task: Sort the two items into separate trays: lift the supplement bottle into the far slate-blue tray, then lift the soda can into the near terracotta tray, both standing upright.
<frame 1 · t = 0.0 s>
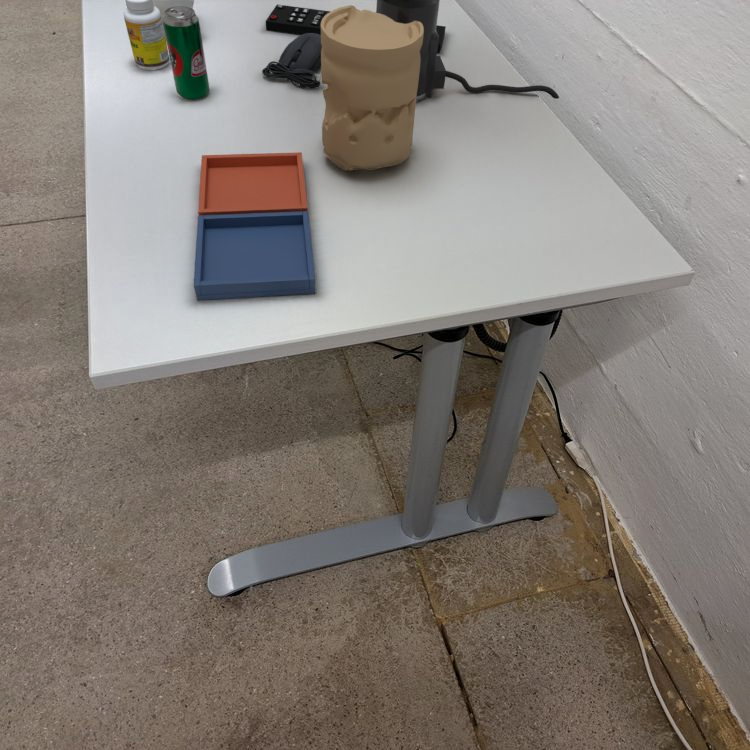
soda can: (193, 94, 100), on the table
figurine: (170, 32, 113), on the table
blue tray: (256, 260, 77), on the table
terracotta tray: (254, 195, 85), on the table
remote control: (355, 33, 116), on the table
container: (366, 158, 92), on the table
supplement bottle: (153, 64, 105), on the table
computer mouse: (306, 67, 108), on the table
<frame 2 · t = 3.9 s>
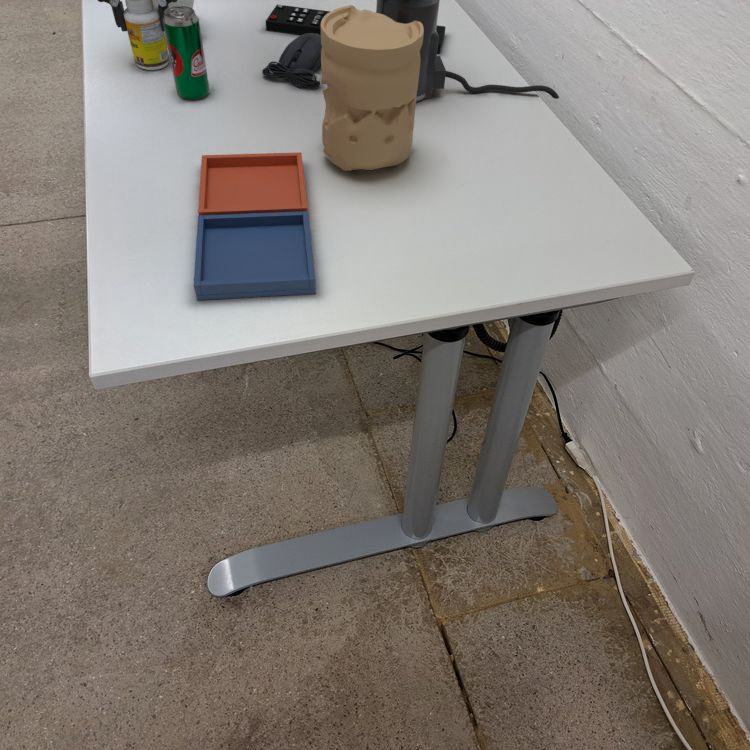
hand: (145, 28, 101), 6 cm above the table, tool pointing down, fingers closed on supplement bottle, 5 cm apart
supplement bottle: (153, 64, 105), on the table, touching gripper
everything else where it was.
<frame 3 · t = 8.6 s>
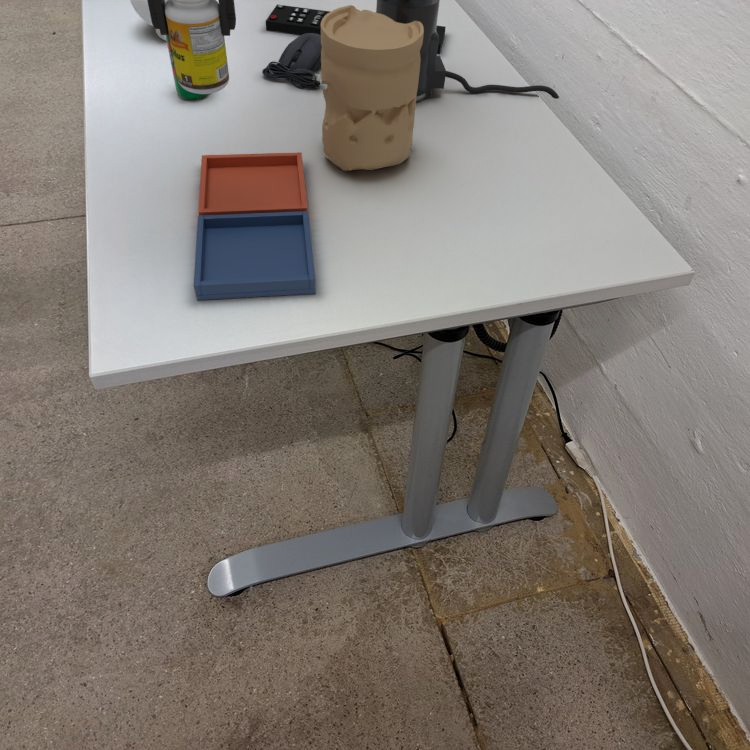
hand: (196, 31, 66), 22 cm above the table, tool pointing down, fingers closed on supplement bottle, 5 cm apart
supplement bottle: (204, 85, 70), point 16 cm above the table, touching gripper
everything else where it was.
when the fingers open (6 cm above the table, at t = 13.4 s): supplement bottle stays where it is, resting on blue tray.
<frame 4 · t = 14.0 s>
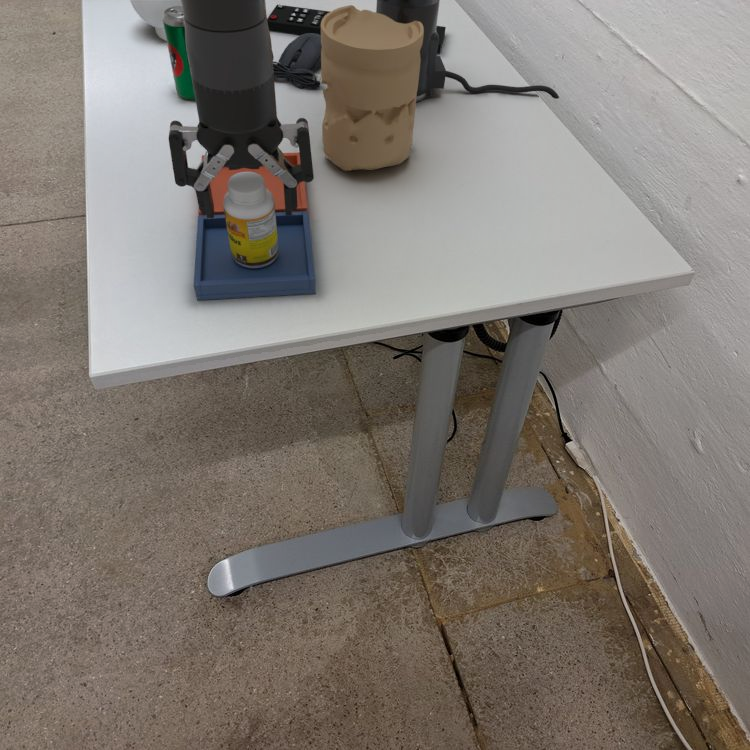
hand: (250, 212, 71), 7 cm above the table, tool pointing down, fingers open, 8 cm apart
supplement bottle: (255, 256, 76), point 1 cm above the table, touching blue tray
everything else where it was.
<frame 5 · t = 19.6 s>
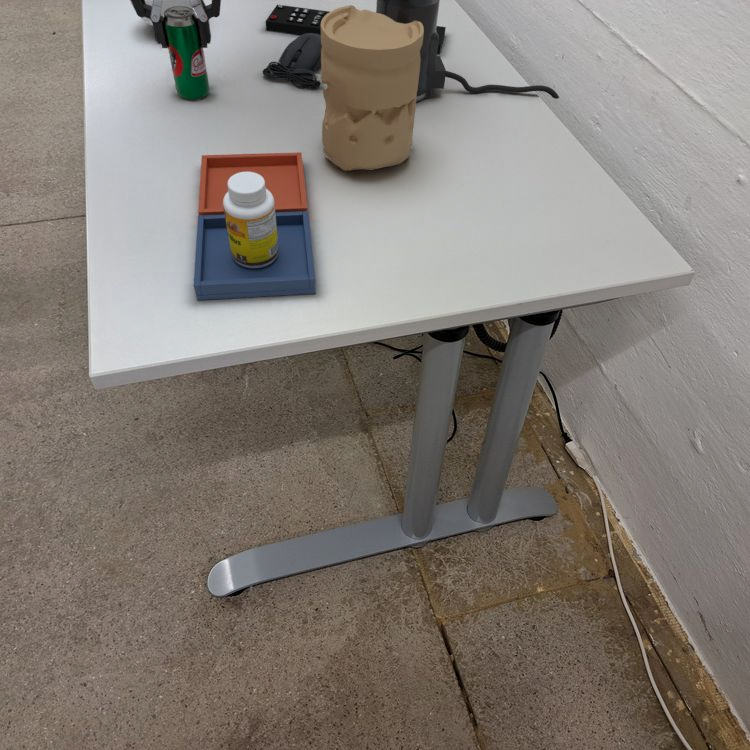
hand: (185, 45, 94), 7 cm above the table, tool pointing down, fingers closed on soda can, 5 cm apart
soda can: (194, 94, 100), on the table, touching gripper
everything else where it was.
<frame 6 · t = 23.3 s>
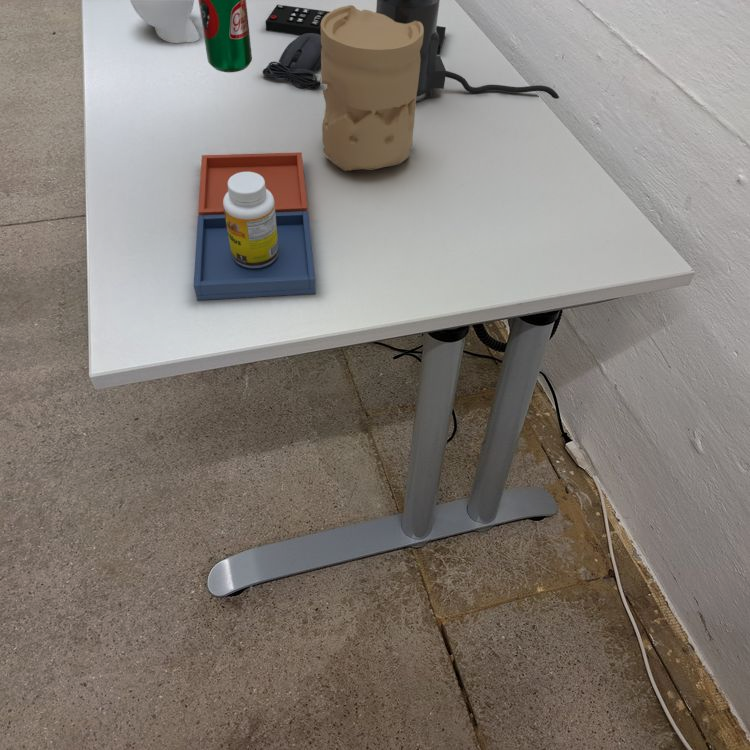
soda can: (230, 65, 74), point 16 cm above the table, touching gripper
everything else where it was.
when the fingers open (8 cm above the table, at t = 27.2 s): soda can stays where it is, resting on terracotta tray.
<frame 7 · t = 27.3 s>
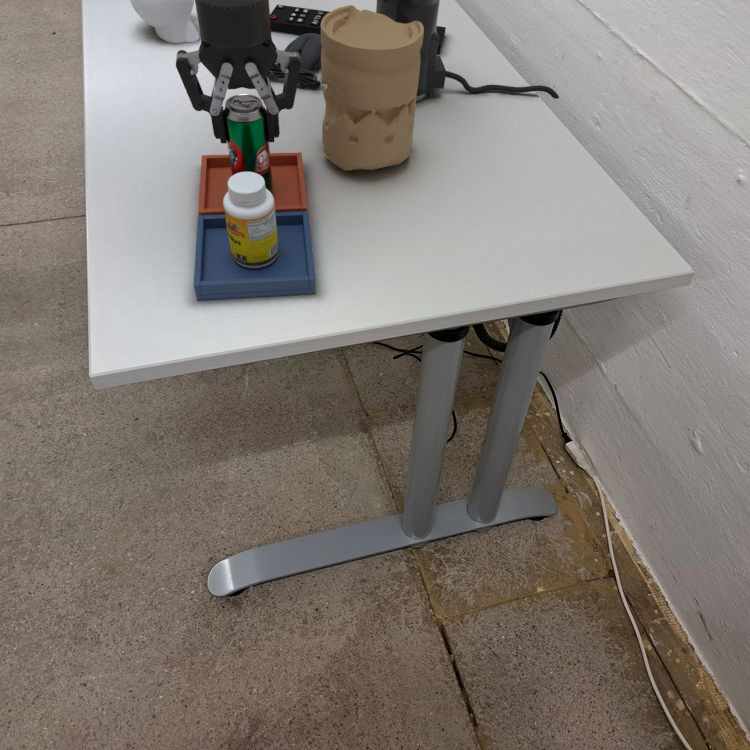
hand: (248, 138, 78), 8 cm above the table, tool pointing down, fingers open, 5 cm apart
soda can: (253, 191, 84), point 1 cm above the table, touching terracotta tray
everything else where it was.
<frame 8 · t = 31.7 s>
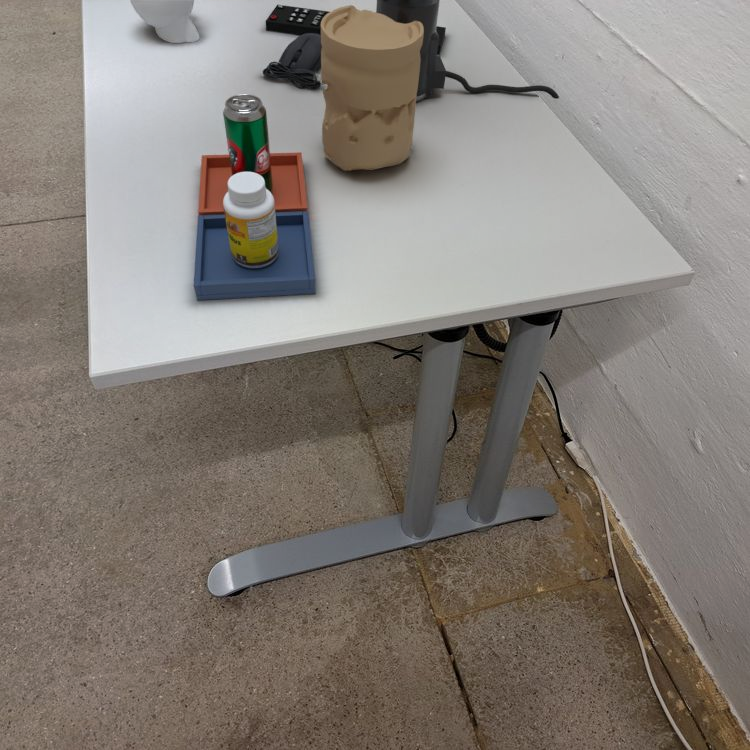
nothing on the table moved.
at the end: supplement bottle inside the target area in the blue tray (0.1 cm from its centre), point 0.6 cm above the blue tray's base; soda can inside the target area in the terracotta tray (0.0 cm from its centre), point 0.6 cm above the terracotta tray's base; soda can tilted 0° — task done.
